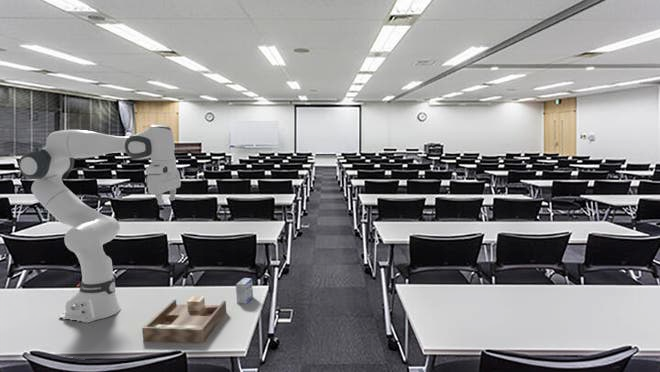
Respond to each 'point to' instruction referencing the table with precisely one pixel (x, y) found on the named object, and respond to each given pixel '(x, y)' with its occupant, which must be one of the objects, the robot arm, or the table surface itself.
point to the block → (196, 303)
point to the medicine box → (244, 290)
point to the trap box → (183, 323)
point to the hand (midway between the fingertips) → (166, 202)
